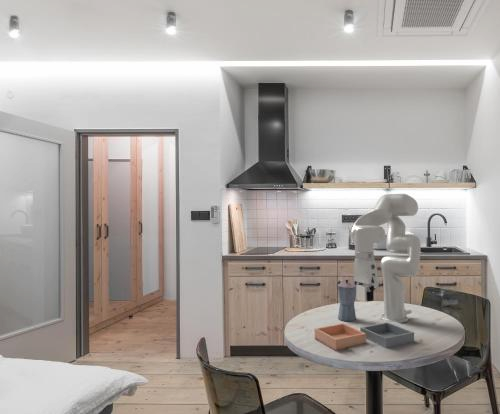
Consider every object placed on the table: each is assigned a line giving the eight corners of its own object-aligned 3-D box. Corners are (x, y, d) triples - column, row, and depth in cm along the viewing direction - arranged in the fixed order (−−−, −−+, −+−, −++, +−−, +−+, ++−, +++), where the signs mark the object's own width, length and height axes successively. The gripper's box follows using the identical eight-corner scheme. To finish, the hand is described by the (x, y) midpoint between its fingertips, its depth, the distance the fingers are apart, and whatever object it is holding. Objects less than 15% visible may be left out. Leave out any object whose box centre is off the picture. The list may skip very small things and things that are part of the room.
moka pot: (348, 324, 177) (347, 282, 177) (329, 316, 191) (328, 277, 191) (364, 321, 181) (363, 280, 181) (344, 313, 195) (343, 275, 195)
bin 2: (387, 332, 165) (387, 322, 165) (414, 343, 151) (414, 332, 151) (360, 337, 159) (360, 327, 159) (386, 349, 145) (385, 338, 145)
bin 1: (343, 333, 165) (342, 323, 165) (366, 344, 151) (365, 333, 151) (314, 338, 159) (314, 328, 159) (335, 351, 145) (335, 339, 145)
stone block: (365, 298, 158) (365, 284, 158) (374, 300, 153) (374, 286, 154) (356, 299, 156) (356, 285, 156) (365, 302, 151) (364, 287, 151)
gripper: (386, 257, 149) (387, 302, 149) (357, 253, 164) (358, 294, 164) (372, 259, 146) (373, 305, 145) (344, 254, 161) (345, 296, 161)
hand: (365, 298), depth 155 cm, fingers closed on stone block, 5 cm apart
